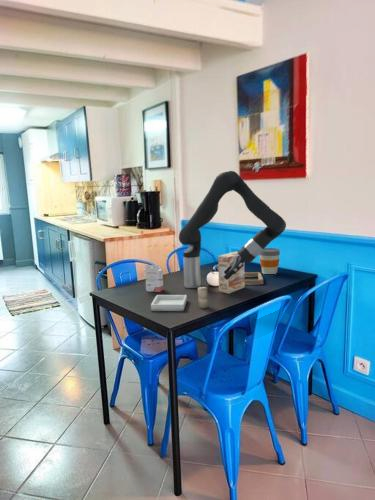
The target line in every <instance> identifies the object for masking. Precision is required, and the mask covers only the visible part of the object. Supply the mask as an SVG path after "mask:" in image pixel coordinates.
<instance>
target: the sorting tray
mask: <svg viewBox="0 0 375 500" xmlns="http://www.w3.org/2000/svg"><path fill="white" fill-rule="evenodd" d="M187 296H188V295H187V294H156V296H155V297H154V298H153V300H152V302H151V303H150V311H151V312H172V311H173V312H184V311H185V308H186V306H187V305H186V304H187V302H188V298H187Z"/></svg>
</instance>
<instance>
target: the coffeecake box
mask: <svg viewBox="0 0 375 500" xmlns="http://www.w3.org/2000/svg"><path fill="white" fill-rule="evenodd" d="M238 256H239V255H238V251H234V252H233V251H232V252H229V253H223V254H221V255H220V254H219V255H218V256H217V257H218V258H217V261H218V267H217V268H218V292H219V293H225V294H229V295H230V294H231V293H234V292H236V291H239V290H241V289H244V288H245V287H246V285H245V280H246V279H245V278H246V277H245V262H244V263H243V264H244V266H243V267H242V268H241V269H240V270H239V271H238V272H237V273H236V274H235V275H234V274H233V275H232V276H231V277H230V278H229V279H228V280H226V279H225V278H224V276H225V275H226V274H225V273H224V271H225V270H226V269H227V268H228V267H229V265H230V263H232V262H233V261H234V260H235V259H236V258H237V257H238ZM233 270H234V269H233ZM234 271H235V270H234Z"/></svg>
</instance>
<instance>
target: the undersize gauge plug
mask: <svg viewBox="0 0 375 500" xmlns="http://www.w3.org/2000/svg"><path fill="white" fill-rule="evenodd" d="M197 304H198V305H197V306H198V309H207V308H208V306H209V305H208V287H206V286H200V287H198V288H197Z"/></svg>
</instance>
